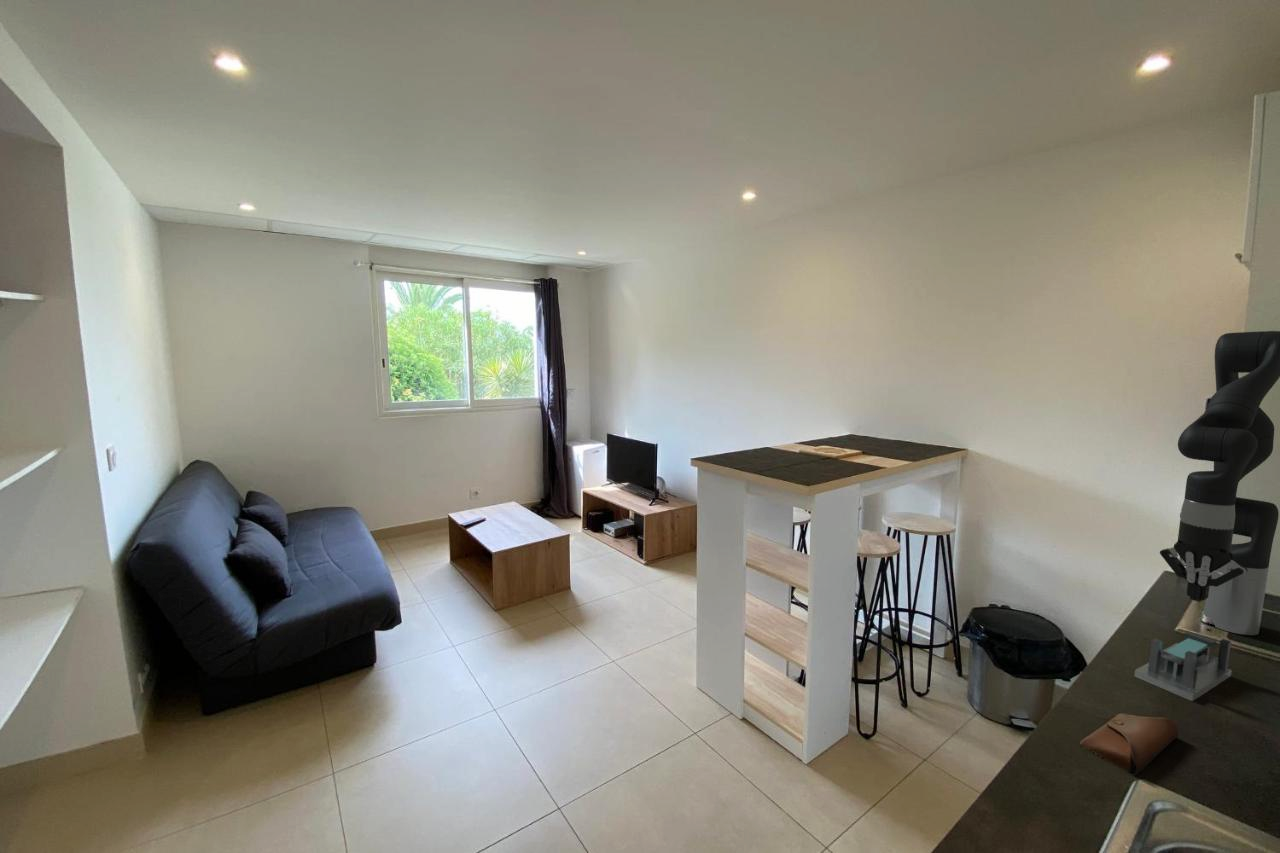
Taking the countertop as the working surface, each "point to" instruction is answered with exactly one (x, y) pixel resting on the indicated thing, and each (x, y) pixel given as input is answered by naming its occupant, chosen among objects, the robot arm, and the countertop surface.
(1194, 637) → the teal tile grey cap
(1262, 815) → the countertop surface
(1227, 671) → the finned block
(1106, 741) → the sunglasses case
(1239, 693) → the countertop surface
